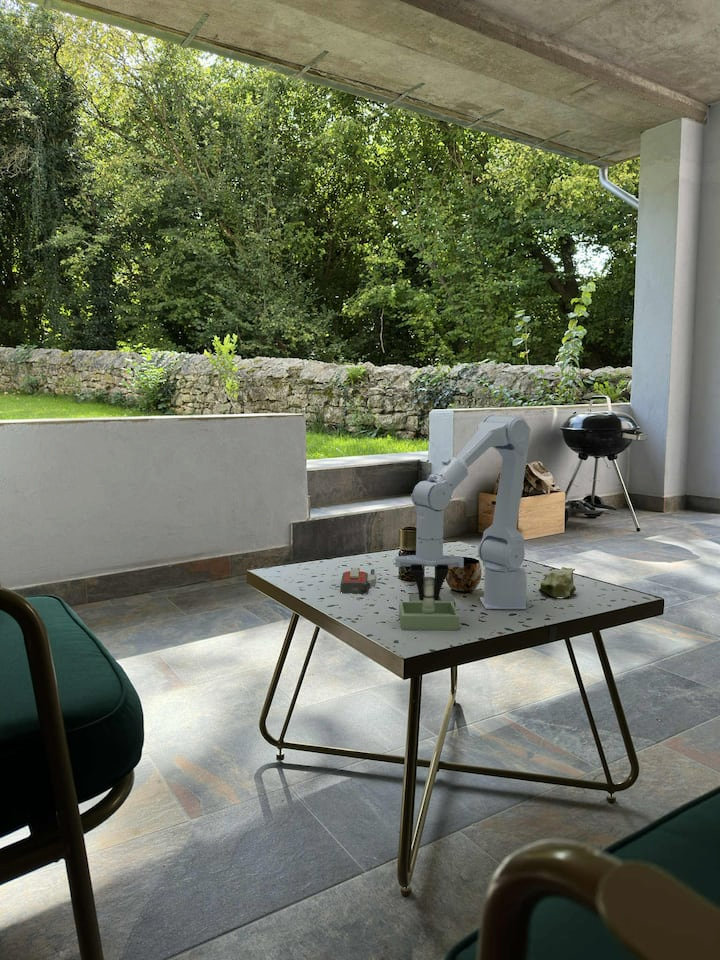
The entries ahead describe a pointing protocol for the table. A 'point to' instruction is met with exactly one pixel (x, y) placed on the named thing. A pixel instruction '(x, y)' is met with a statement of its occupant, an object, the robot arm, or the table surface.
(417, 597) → the fuse block
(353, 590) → the red belt-clip case
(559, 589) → the green rock
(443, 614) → the parts tray
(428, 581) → the cylinder
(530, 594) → the table surface
